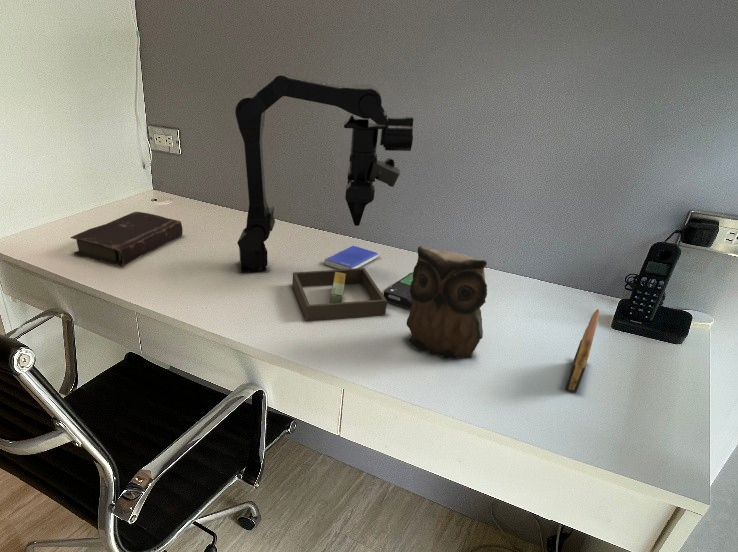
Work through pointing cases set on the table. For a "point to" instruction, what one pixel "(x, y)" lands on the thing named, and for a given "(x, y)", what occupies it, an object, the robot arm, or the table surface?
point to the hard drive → (351, 258)
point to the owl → (447, 303)
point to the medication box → (337, 288)
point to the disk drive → (400, 292)
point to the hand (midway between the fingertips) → (357, 218)
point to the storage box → (344, 308)
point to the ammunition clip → (582, 355)
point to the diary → (127, 237)
